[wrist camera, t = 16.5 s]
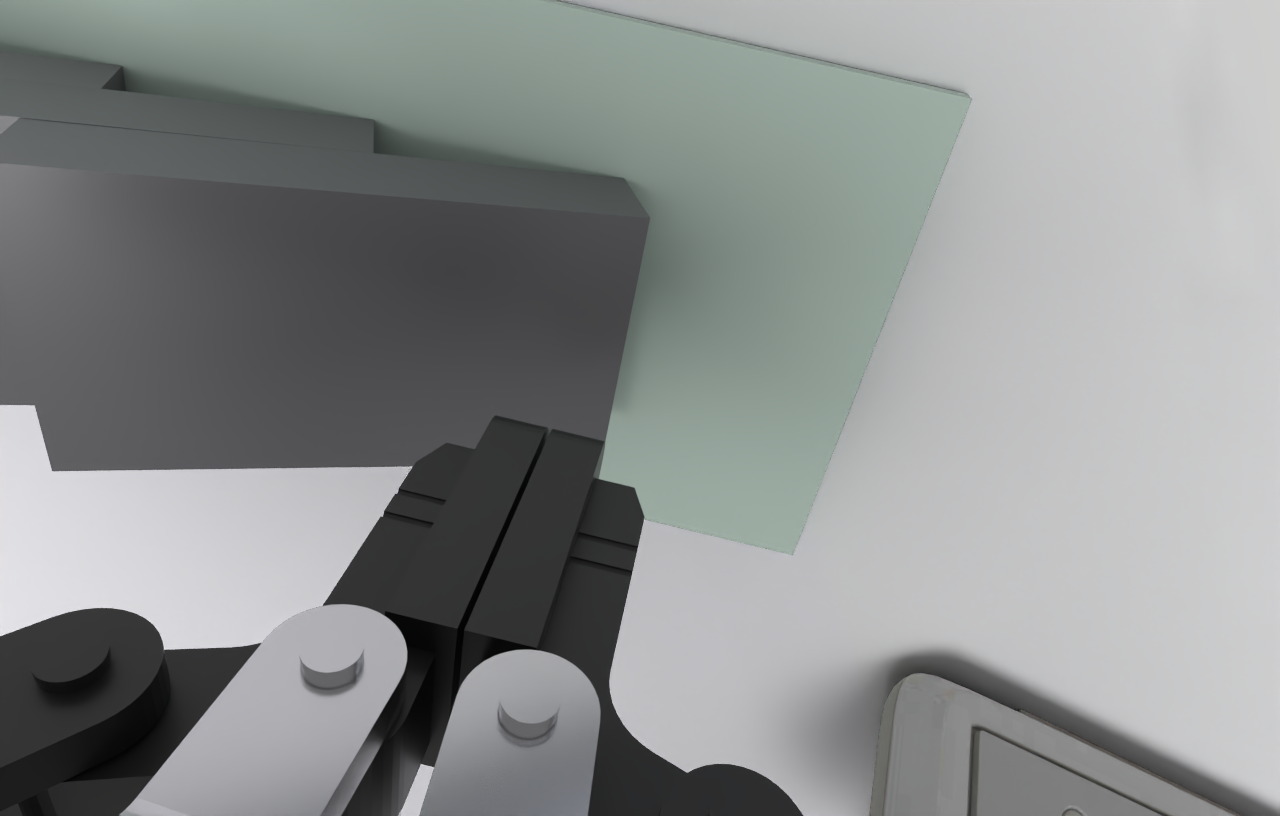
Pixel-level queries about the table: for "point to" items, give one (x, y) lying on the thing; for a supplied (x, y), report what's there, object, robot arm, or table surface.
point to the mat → (656, 173)
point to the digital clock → (1004, 763)
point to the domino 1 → (61, 71)
